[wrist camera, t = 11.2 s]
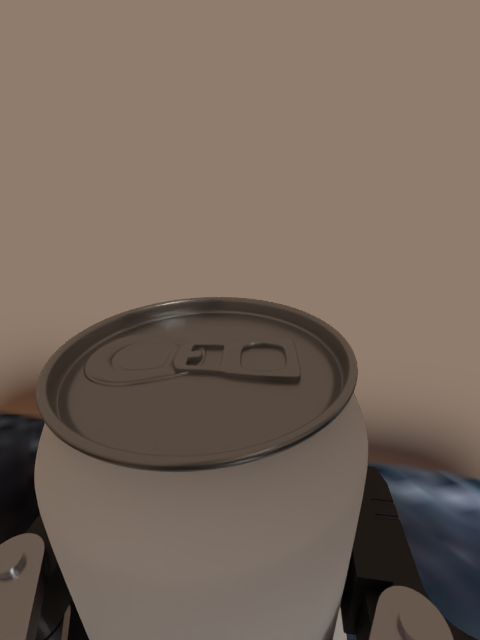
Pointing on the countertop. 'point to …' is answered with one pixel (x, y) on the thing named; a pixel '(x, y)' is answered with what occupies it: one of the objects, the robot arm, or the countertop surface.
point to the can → (203, 471)
